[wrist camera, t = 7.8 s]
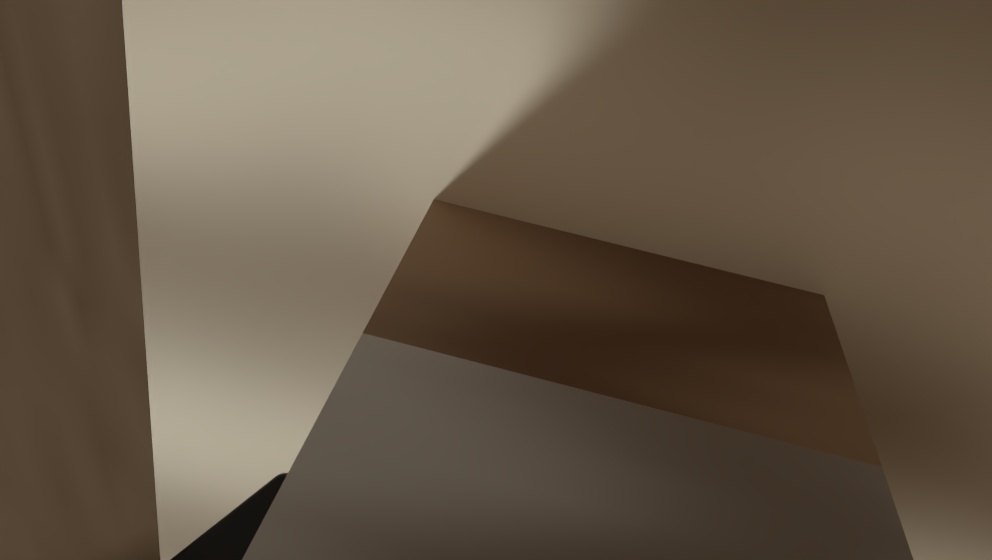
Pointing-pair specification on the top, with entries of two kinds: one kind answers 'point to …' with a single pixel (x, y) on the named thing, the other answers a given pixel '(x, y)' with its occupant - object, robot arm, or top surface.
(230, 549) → the robot arm
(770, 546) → the block
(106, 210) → the top surface
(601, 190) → the stand
